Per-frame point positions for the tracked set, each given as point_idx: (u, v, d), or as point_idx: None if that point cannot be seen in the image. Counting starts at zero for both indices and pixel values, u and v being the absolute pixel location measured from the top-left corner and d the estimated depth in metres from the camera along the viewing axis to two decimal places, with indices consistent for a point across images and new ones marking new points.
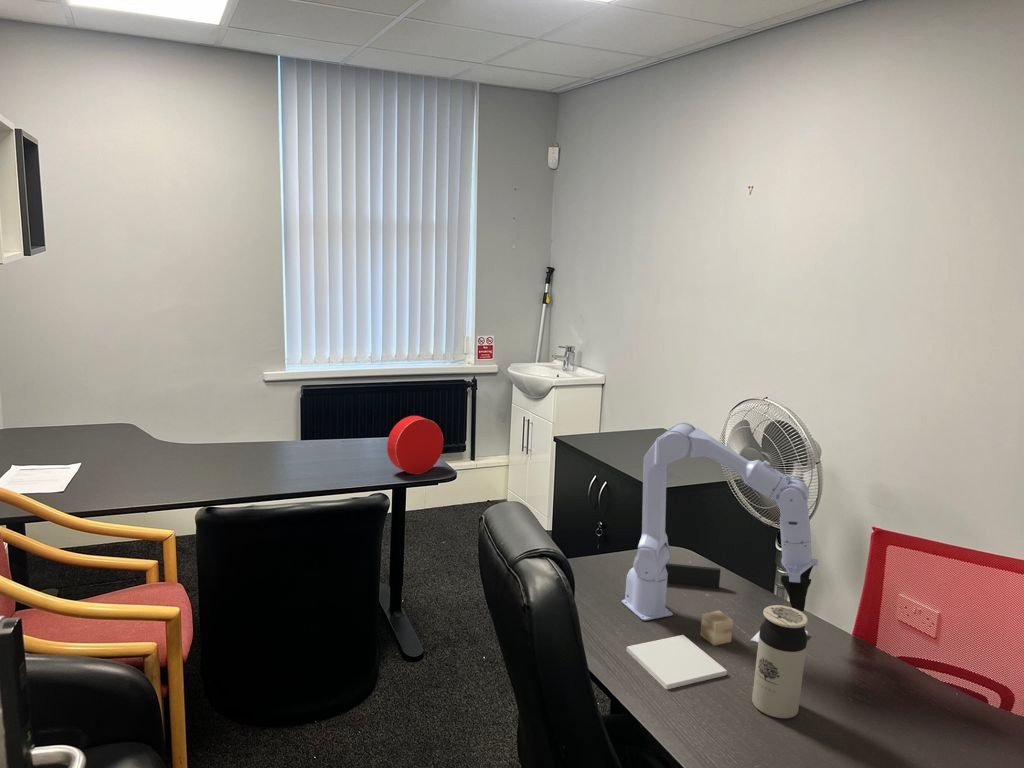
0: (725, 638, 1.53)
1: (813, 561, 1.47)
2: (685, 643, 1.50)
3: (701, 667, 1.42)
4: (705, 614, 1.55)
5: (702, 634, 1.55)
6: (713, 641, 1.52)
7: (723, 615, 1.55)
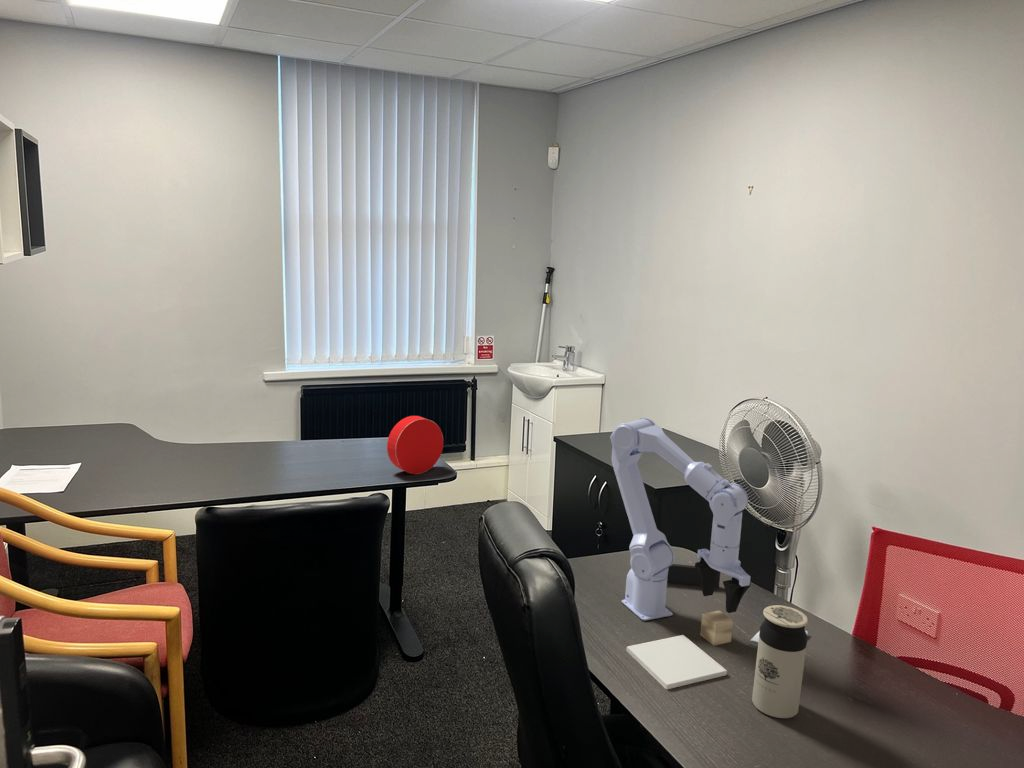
0: (725, 638, 1.53)
1: None
2: (685, 643, 1.50)
3: (701, 667, 1.42)
4: (705, 614, 1.55)
5: (702, 634, 1.55)
6: (713, 641, 1.52)
7: (723, 615, 1.55)
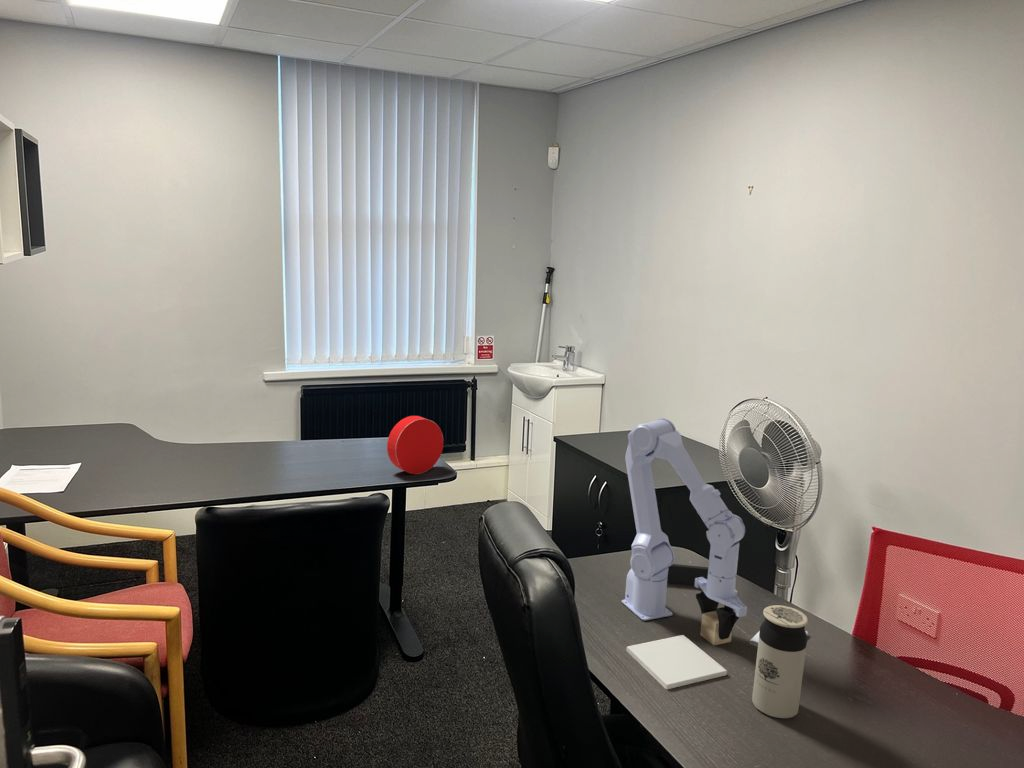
0: None
1: None
2: (685, 643, 1.50)
3: (701, 667, 1.42)
4: (705, 614, 1.55)
5: (702, 634, 1.55)
6: (713, 641, 1.52)
7: None
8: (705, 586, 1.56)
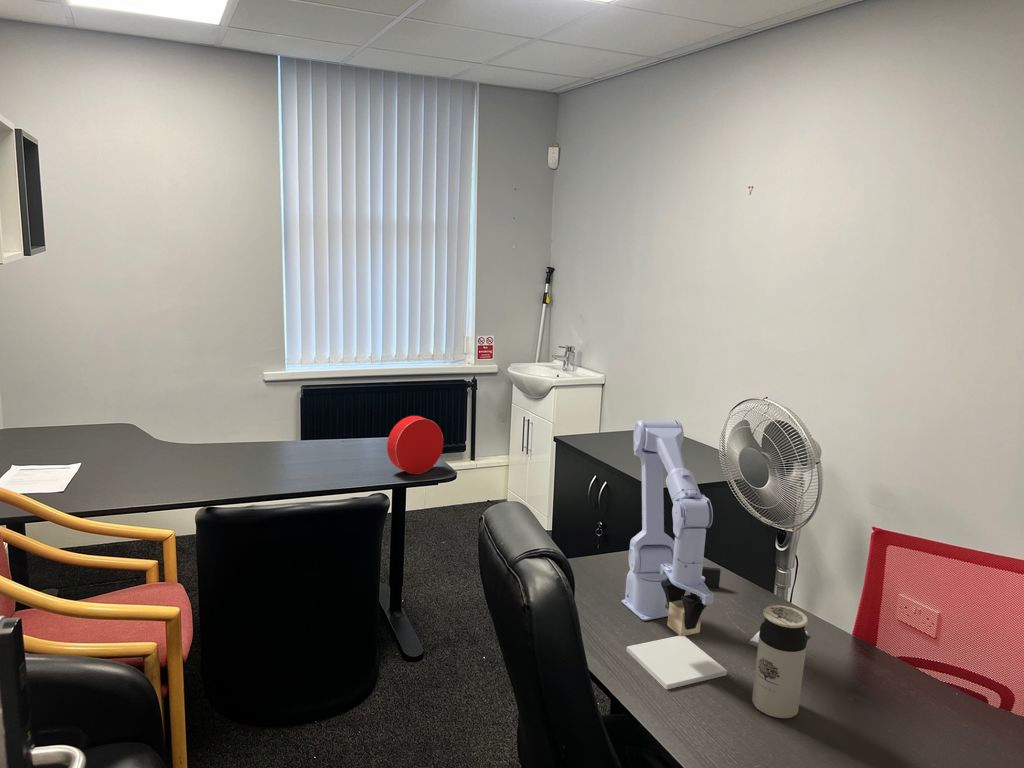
0: (694, 629, 1.43)
1: None
2: (685, 643, 1.50)
3: (701, 667, 1.42)
4: (672, 602, 1.44)
5: (669, 624, 1.45)
6: (680, 631, 1.42)
7: None
8: (671, 573, 1.46)
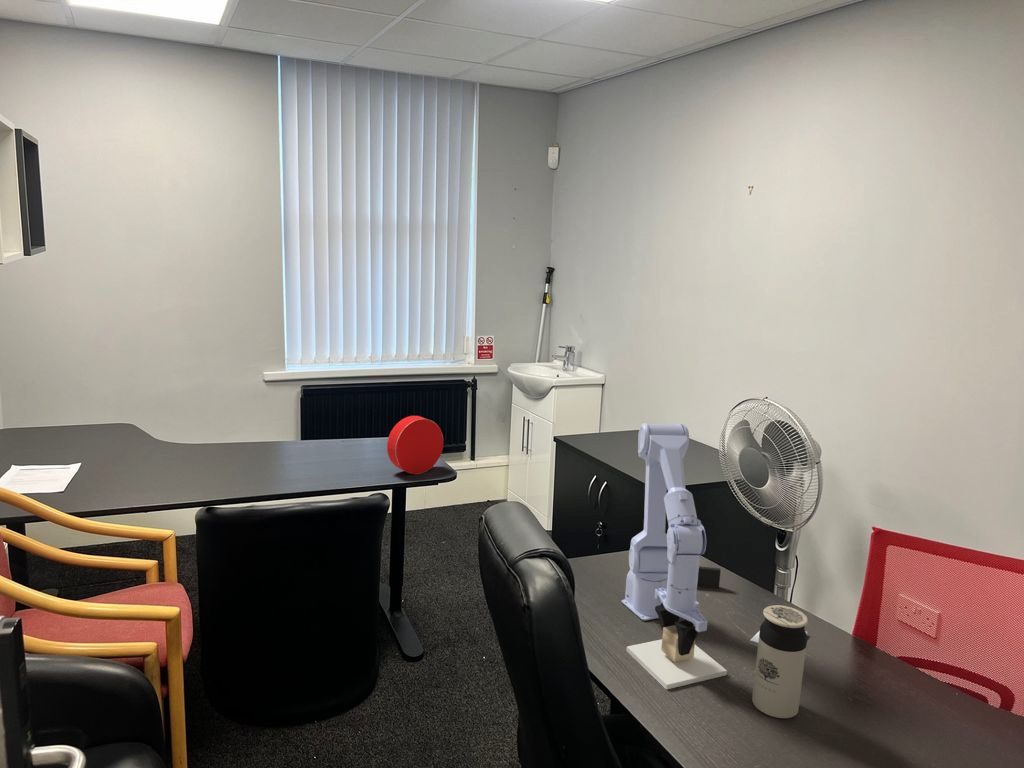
0: (687, 654, 1.43)
1: (694, 602, 1.43)
2: None
3: (701, 667, 1.42)
4: (666, 628, 1.45)
5: (663, 649, 1.45)
6: (674, 657, 1.42)
7: None
8: (665, 598, 1.46)
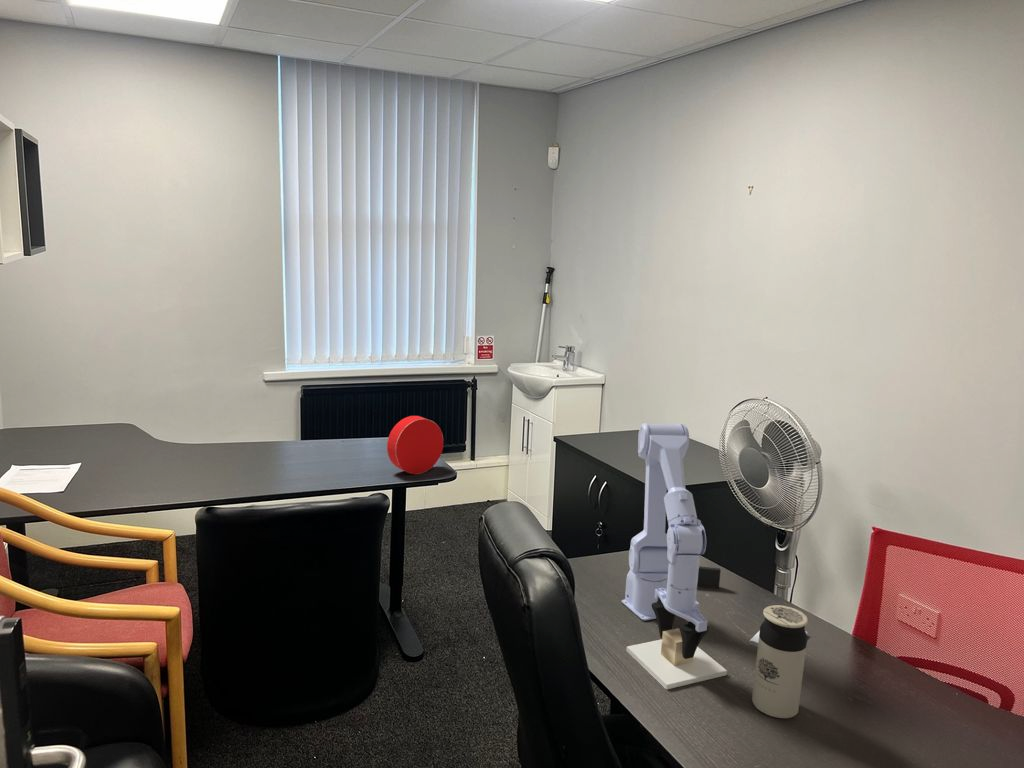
0: None
1: (694, 602, 1.43)
2: None
3: (701, 667, 1.42)
4: (666, 632, 1.45)
5: (663, 653, 1.45)
6: (674, 661, 1.42)
7: None
8: (665, 598, 1.46)
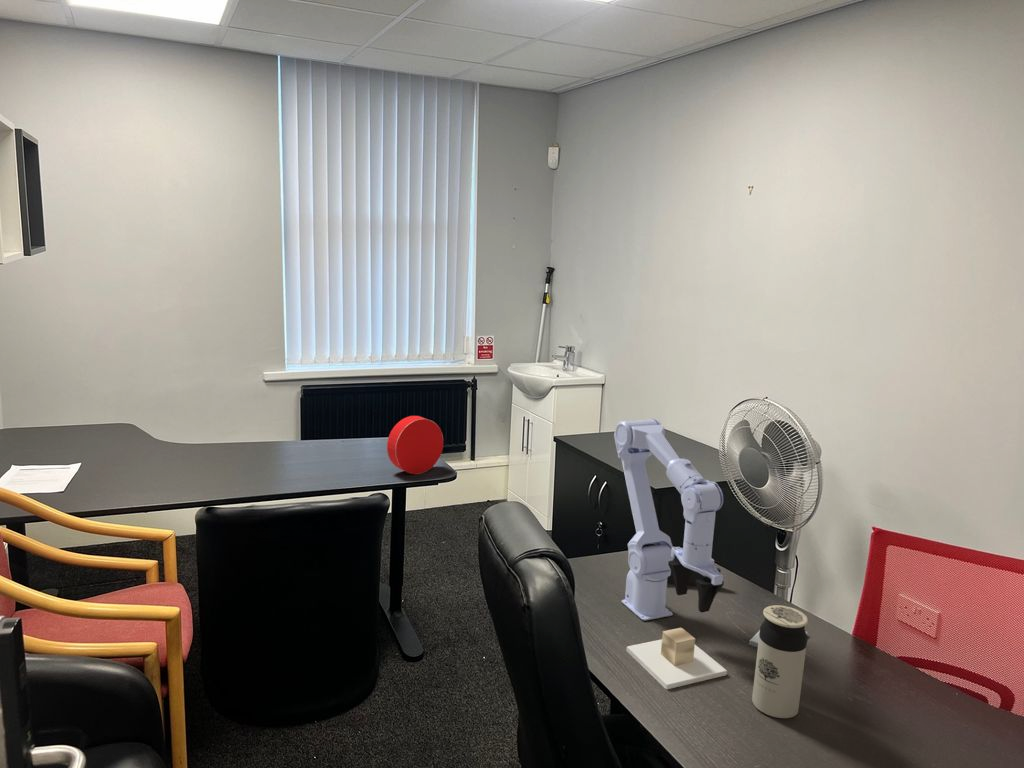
0: (687, 658, 1.43)
1: None
2: None
3: (701, 667, 1.42)
4: (666, 632, 1.45)
5: (663, 653, 1.45)
6: (674, 661, 1.42)
7: (685, 633, 1.45)
8: (681, 555, 1.52)
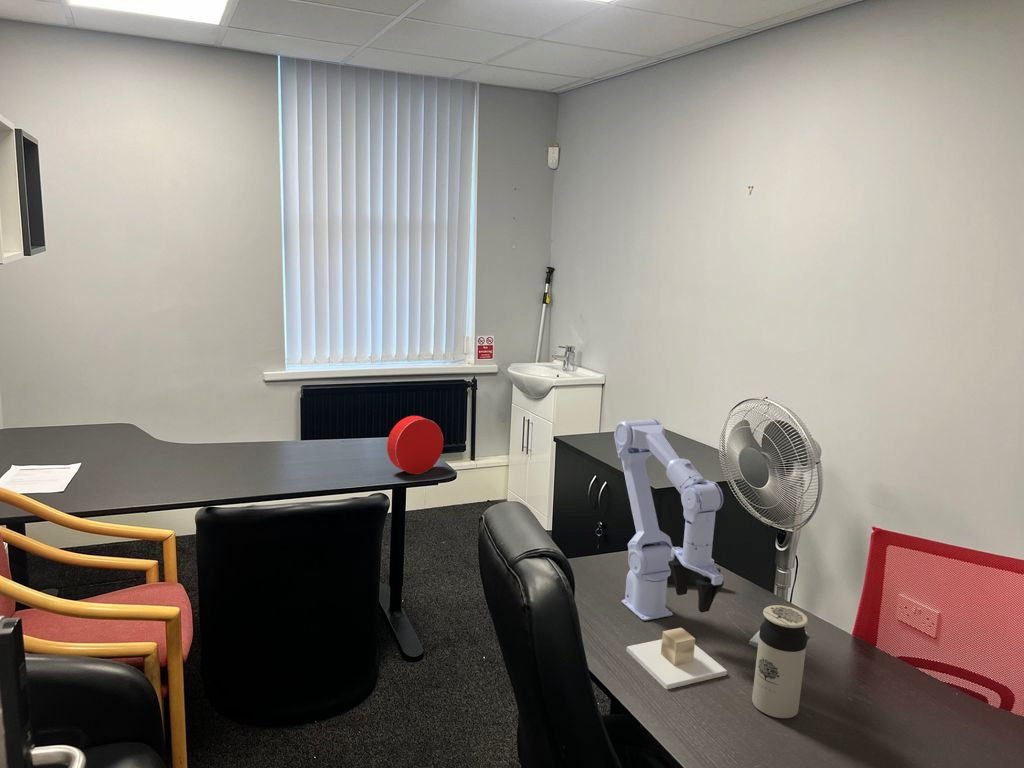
0: (687, 658, 1.43)
1: None
2: None
3: (701, 667, 1.42)
4: (666, 632, 1.45)
5: (663, 653, 1.45)
6: (674, 661, 1.42)
7: (685, 633, 1.45)
8: (681, 555, 1.52)
